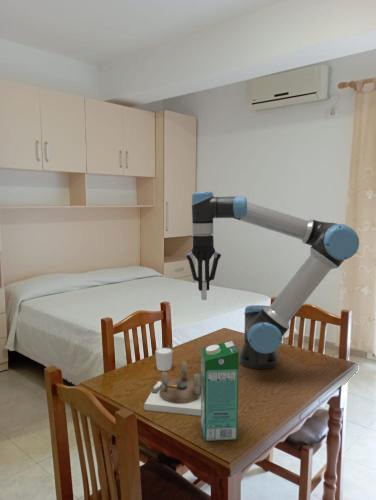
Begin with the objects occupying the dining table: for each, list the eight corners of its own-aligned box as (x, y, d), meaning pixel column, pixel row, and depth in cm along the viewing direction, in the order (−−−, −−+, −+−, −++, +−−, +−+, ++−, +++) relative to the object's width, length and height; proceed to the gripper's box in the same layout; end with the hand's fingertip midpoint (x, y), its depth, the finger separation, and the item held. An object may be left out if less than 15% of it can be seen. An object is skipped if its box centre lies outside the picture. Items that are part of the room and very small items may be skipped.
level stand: (214, 392, 136) (214, 381, 136) (208, 416, 121) (208, 404, 120) (158, 386, 140) (158, 376, 140) (144, 409, 125) (144, 398, 124)
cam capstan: (202, 384, 137) (202, 362, 136) (199, 403, 124) (199, 380, 123) (163, 381, 139) (163, 360, 138) (155, 401, 125) (155, 377, 124)
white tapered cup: (173, 364, 159) (173, 347, 158) (171, 371, 153) (171, 354, 152) (156, 364, 160) (156, 347, 159) (153, 371, 153) (153, 353, 152)
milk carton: (200, 423, 117) (201, 340, 114) (231, 421, 118) (232, 339, 115) (204, 441, 108) (205, 352, 105) (237, 439, 109) (239, 351, 106)
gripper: (218, 233, 149) (219, 295, 151) (183, 234, 147) (184, 297, 150) (223, 235, 141) (223, 300, 144) (186, 236, 139) (188, 302, 142)
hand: (204, 299), depth 147 cm, fingers closed
